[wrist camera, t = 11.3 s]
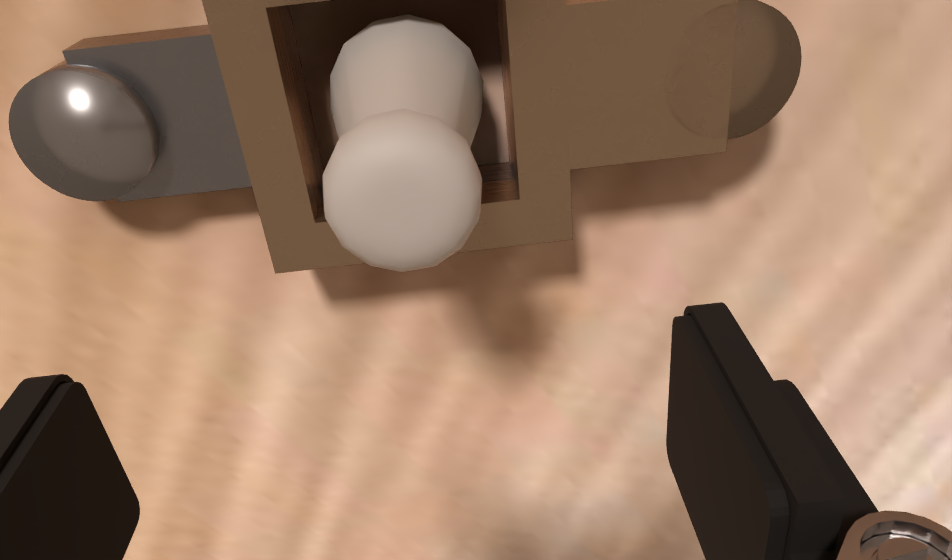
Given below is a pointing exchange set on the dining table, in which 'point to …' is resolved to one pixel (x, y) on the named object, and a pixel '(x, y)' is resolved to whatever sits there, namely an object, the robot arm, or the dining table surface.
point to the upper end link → (529, 105)
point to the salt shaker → (404, 144)
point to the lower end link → (153, 118)
